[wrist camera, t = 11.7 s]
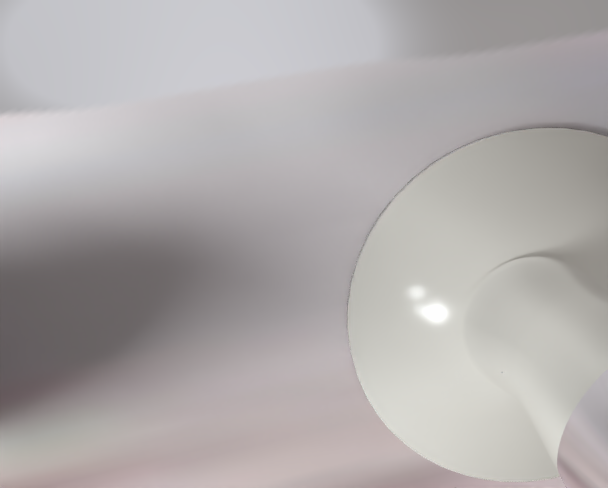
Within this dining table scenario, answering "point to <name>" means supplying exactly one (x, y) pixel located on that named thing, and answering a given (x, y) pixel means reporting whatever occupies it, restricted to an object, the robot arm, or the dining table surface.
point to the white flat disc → (469, 289)
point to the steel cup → (547, 357)
